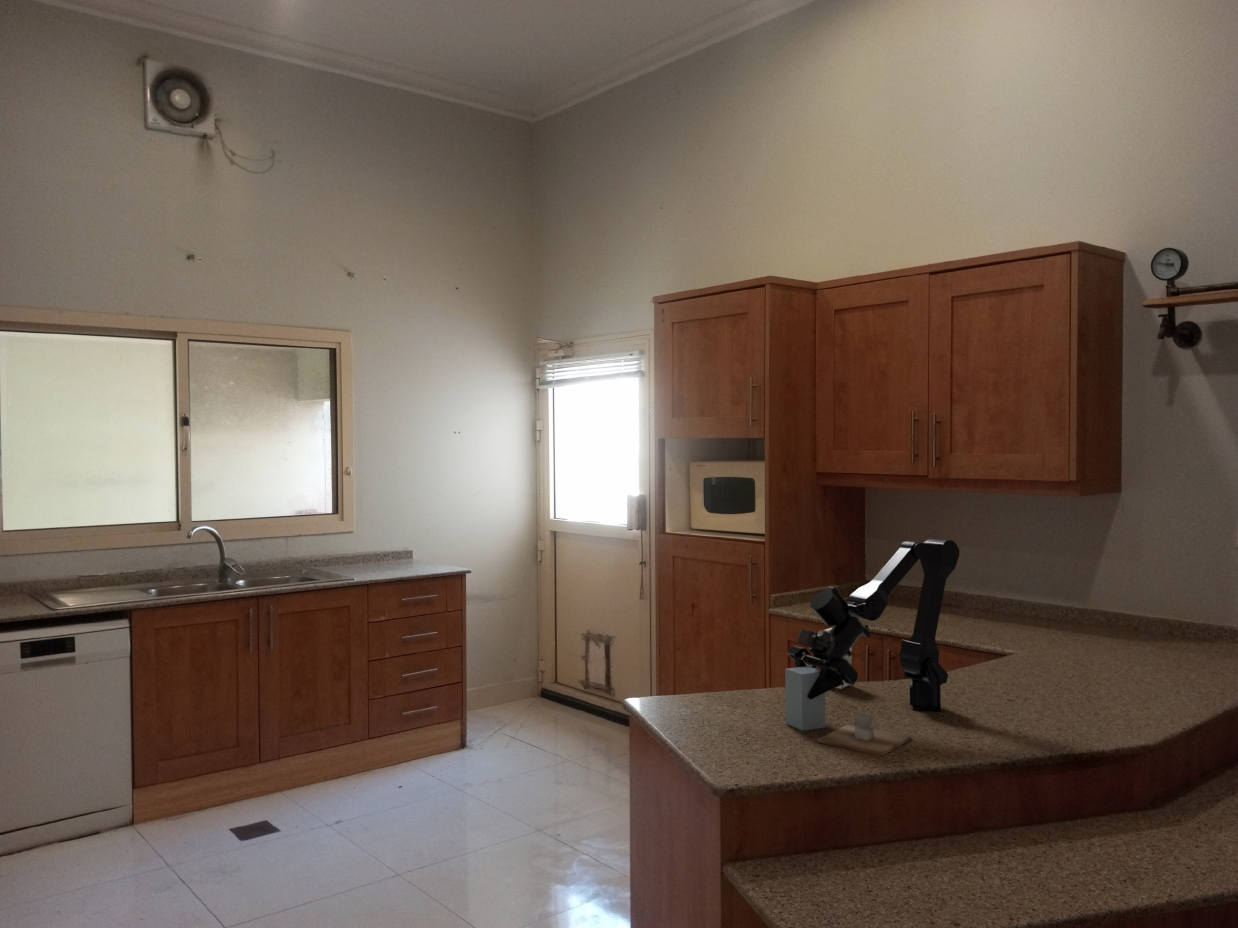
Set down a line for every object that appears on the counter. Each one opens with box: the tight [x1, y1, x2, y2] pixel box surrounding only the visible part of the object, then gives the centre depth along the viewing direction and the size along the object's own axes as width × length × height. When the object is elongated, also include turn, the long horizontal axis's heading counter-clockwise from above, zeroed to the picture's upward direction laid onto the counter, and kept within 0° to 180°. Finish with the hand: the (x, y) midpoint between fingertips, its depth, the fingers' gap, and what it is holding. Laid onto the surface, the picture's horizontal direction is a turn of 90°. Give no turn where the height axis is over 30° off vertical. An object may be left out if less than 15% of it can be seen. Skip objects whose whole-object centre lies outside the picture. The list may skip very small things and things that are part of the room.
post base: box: [816, 713, 912, 756], centre depth 189 cm, size 14×14×5 cm
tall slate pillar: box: [784, 666, 826, 732], centre depth 200 cm, size 6×6×12 cm
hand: (799, 694), depth 199 cm, fingers closed on tall slate pillar, 6 cm apart
